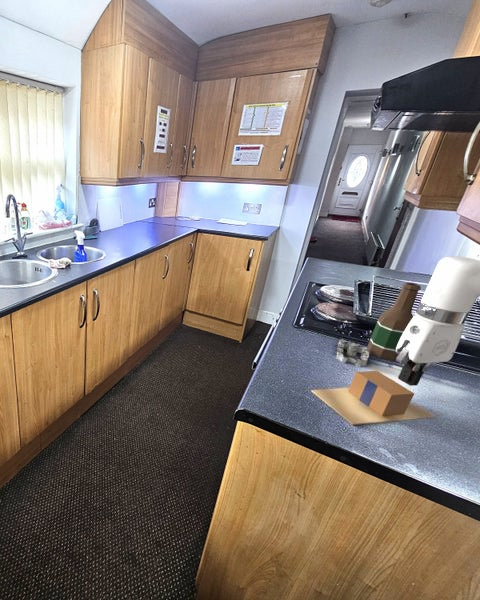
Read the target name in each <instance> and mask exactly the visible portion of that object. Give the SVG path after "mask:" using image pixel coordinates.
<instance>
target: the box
mask: <svg viewBox="0 0 480 600" xmlns="http://www.w3.org/2000/svg"><path fill="white" fill-rule="evenodd" d="M348 388H349V390H348V392H349V393H351V394H352V395H353V396H355V397H356V398H358V399H359V400H360V401H361V402H363V403H364V404H365V405H367V406H369V407H370V408H371V409H373V410H374V411H376V412H377V413H378V414H380V415H381V416H388V415H401V414H404V413H405V411H406V409H407V407H408V406H409V404H410V403H411V401H412V400H413V398H414V396H415V392H413V391H412V390H409V388H407V387H404V386H403V385H402V384H400V383H398V382H397V381H395V380H393V379H392V378H390V377H388V376H386V375H385V374H383V373H381V372H380V371H378V370H367V371H365V370H364V371H355V373H354V375H353V378H352V380H351V382H350V385H349V387H348Z"/></svg>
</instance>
